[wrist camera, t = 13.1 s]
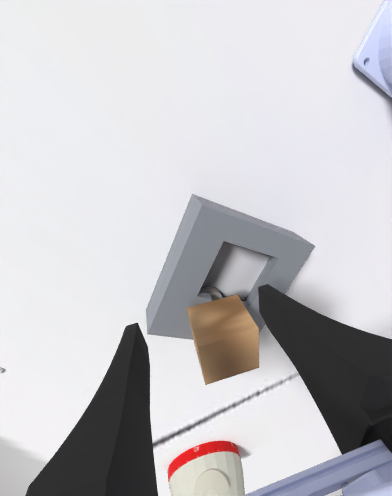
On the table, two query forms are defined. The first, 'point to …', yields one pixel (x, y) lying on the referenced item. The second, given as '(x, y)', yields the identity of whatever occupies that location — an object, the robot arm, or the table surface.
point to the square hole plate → (203, 255)
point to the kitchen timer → (207, 471)
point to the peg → (224, 336)
